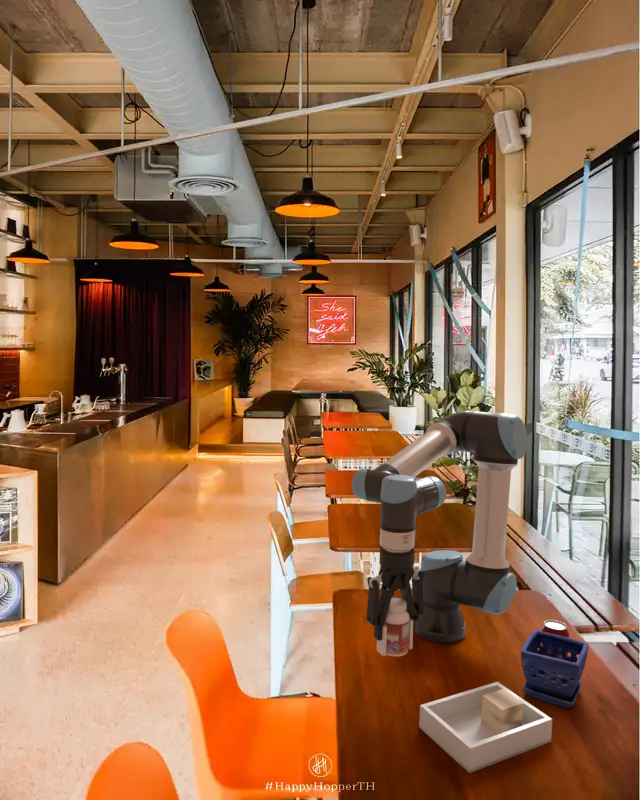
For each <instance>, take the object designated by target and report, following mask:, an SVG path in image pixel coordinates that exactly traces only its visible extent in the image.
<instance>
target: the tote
mask: <svg viewBox="0 0 640 800" xmlns="http://www.w3.org/2000/svg"><path fill="white" fill-rule="evenodd" d="M501 689H504V690H505V691H507V692H508V693H510V694H511V695H512V696H514V697H515V698H517V699H518V700H520V701H521V702H523V721H522V726H520V727H518V728H515V729H512V730H509V731H506V732H504V733H501V734H498V735H497V734H496V733H495V732H493V731H492V730H491V729H490V728H488V727H487V726H486V725H484V724H483V723H482V722H481V713H482V696H483V695H486V694H489V693H492V692H495V691H498V690H501ZM418 726H419V727H418V728H420V730H421V731H422V732H424V733H425V734H426V735H427V736H428V737H429V738H430V739H431V740H432V741H433V742H434V743H436V744H437V745H438V746H439V747H440V748H441V749H442V750H443V751H444V752H445V753H447V754H448V755H449V756H450V757H451V758H452V759H453V760H454V761H455V762H456V763H457V764H459V765H460V766H461V767H462V768H463V769H464V770H465V771H466V772H468V773H469V774H471V773H473V772H476V771H480V770H482V769H485V768H487V767H489V766H492V765H495V764H498V763H500V762H502V761H505V760H508V759H510V758H513V757H515V756H518V755H520V754H524V753H526V752H528V751H531V750H533V749H536V748H538V747H542V746H544V745H547V744H549V743H551V742H552V734H553V733H552V731H553V718H551V717H550V716H548V714H546V713H544V712H543V711H541V710H539V709H538V708H537V707H535V706H534V705H532V704H531V703H529V702H528V701H526V700H525V699H523V698H522V697H521V696H519V695H517V694H516V693H515V692H513V691H512V690H510V689H509V688H507V687H506V686H504V685H503V684H501V683H500V682H499V681H495V682H492V683H489V684H488V683H487V684H485V685H481V686H479V687H476V688H475V687H474V688H473V689H469V690H465V691H462V692H459V693H456V694H452V695H449V696H446V697H443V698H440V699H436V700H433V701H429V702H426V703H423V704H420V705H419V725H418Z"/></svg>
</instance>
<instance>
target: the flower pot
mask: <svg viewBox="0 0 640 800" xmlns="http://www.w3.org/2000/svg"><path fill="white" fill-rule="evenodd" d="M541 643H544V646H542V645H541ZM559 648H562V650H559ZM548 649H551V650H552V653H550V652H548ZM567 652H568V654H570V656H569V655H568V656H567V655H566V653H567ZM588 653H589V644H588V643H587V642H585V641H582V640H578V639H575V638H571V637H569V638H567V637H563V636H559V635H555V634H550V633H546V632H542V631H541V630H537V629H535V630H533V631H532V633H531V634H530V635H529V637H528V638H527V639H526V640H525V643H524V644H523V646H522V648H521V650H520V660H521V661H520V662H521V668H522V672H523V675H524V678H525V680H526V681H525V682H524V684H523V686H522V690H523V692H524V693H525V694H526V695H527V696H528V697H531V698H535V699H537V700H541V701H543V702H547V703H549V704H550V703H551V704H554V705H556V706H559V707H563V708H567V709H569V708H572V707H573V706H574V705H575V703H576V700H577V698H578V695H579V692H580V690H581V687H582V683H583V682H582V681H581V678H582V676H583V672H584V670H585V667H586V662H587V658H588ZM543 654H545V655H546V656H544V655H543ZM559 654H560V655H562V657H563V659H564V660H561V659H557V658H555V656H556V655H559ZM577 656H578V657H577Z"/></svg>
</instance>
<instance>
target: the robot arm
mask: <svg viewBox="0 0 640 800" xmlns="http://www.w3.org/2000/svg"><path fill="white" fill-rule="evenodd" d="M528 441H529V440H528V432H527V428H526V425H525V422H524V420H522V418H521V417H520V416H518V415H515V414H510V413H505V412H492V411H491V412H490V411H488V412H487V411H478V410H477V411H475V410H461V411H457V412H455V413H451V414H449V415H446V416H444V417H441V418H440V419H437V420H436V421H435V422H432V424H430V425H429V426H428V427H427V429H426V431H425V433H424V434H423V435H421V436H419V437H418V438H417V439H416V440H414V441H412V442H411V443H410V444H408V445H407V446H405V447H404V448H402V449H401V450H399V451H398V452H397V453H396V454H394V455H392V457H391V456H390V457H389V458H388V459H387V460H385V461H384V462H383V463H381V464H380V465H378V466H377V467H375V468H374V469H370V468H360V469H358V470H356V472H355V473H354V475H353V477H352V479H351V489H352V493H353V495H354V496H355V497H356V498H358V499H360V500H364V501H367V502H371V503H377V504H380V530H379V531H380V532H379V533H380V534H379V545H380V548H379V566H380V569H379V571H378V575H376V576H374V577H372V576H369V577H367V580H366V581H367V584H368V596H367V597H368V598H367V605H366V617H365V618H366V622H368V623H369V624H371V625H372V626H374V627H373V628H374V629H373V632H374V633H373V635H374V636H373V637H374V639H376V652H378V654H380V655H382V657H386V656H387V655H386V648H387V626H386V625H384V622H385V619H386V616H387V612H388V609H389V605H390V602H391V598H394V595H395V594H396V591H399V592H400V594H401V599H403V600H404V601H406V611H407V612H408V614H409V645H408V650H412V649H413V645H414V644H413V642H414V641H413V640H414V639H413V638H414V637H413V636H414V634H415V635H416V636H418V637H419V638H421V639H423V640H426V641H430V642H433V643H440V644H441V643H442V644H443V643H444V644H446V643H447V644H448V643H449V644H451V643H457V642H459V641H461V640H463V639H465V637H466V635H467V634H466V629H467V626H466V623H465V620H464V616H463V612H462V609H461V605H462V606H466V607H469V608H472V609H476V610H479V611H480V612H481V611H482V612H484V613H485V614H487V613H489V614H493V615H498V616H499V615H501V614H504V613H506V611H507V610H508V609H509V608H510V605H511V604H512V602H513V600H514V597H515V595H516V591H517V582H518V581H517V577H516V575H515V574H514V573H513V572H510V568H511V566H510V562H509V561H508V560H507V559H506V557H505V553H506V540H507V529H508V516H509V515H508V514H509V504H510V503H509V501H510V487H511V475H512V474H511V473H512V470H513V469H514V468H515V467H517V466H518V464H519V463H518V461H519V460H521V459H523V458H524V457H525V456H526V453H527V449H528V443H529V442H528ZM454 452H468V453H473V462H474V463H475V464H476V465H477V467H478V471H477V483H476V485H477V487H476V498H475V509H474V510H475V511H474V522H473V524H474V525H473V536H472V548H471V553H470V554H469V555H467V556H466V558H465V560H464V557H463V554H462V553H461V552H460V551H456V550H448V549H447V550H442V549H441V550H440V549H439V550H434V551H429V552H427V553H425V554H424V555H423V556H422V557H421V561H420V569H419V568H417V567H416V568H414V566H415V551H416V550H415V549H414V547H415V546H416V542H415V541H416V521H417V520H416V516H419V515H422V514H425V513H427V512H431V511H434V510H435V509H437V508H439V507H441V506H442V505H443V504H444V503H445V501H446V498H447V490H446V486H445V484H444V482H443V481H442V480H440V479H439V478H438V477H436V476H433V475H431V476H430V475H429V476H427V475H425V476H422V477H417V476H418V475H419V474H420V473H422V472H423V471H425V470H426V469H427V468H428V467H430V466H431V465H432V464H434V463H435V462H436V461H437V460H439V459H440V458H441V457H443V456H445V457H446V456H449V455H451V454H453V453H454ZM381 583H382V584H381Z"/></svg>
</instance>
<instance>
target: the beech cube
mask: <svg viewBox="0 0 640 800" xmlns="http://www.w3.org/2000/svg"><path fill="white" fill-rule="evenodd" d="M522 721H523V702H521V701H520V700H518V699H517V698H515V697H514V696H512V695H511V694H510V693H508V692H507V691H505V690H504V689H501V690H498V691H495V692H492V693H489V694H486V695H483V696H482V713H481V722H482V723H483V724H484V725H486V726H487V727H488V728H490V729H491V730H492V731H493V732H495V733H496V734H497V735H498V734H501V733H504V732H506V731H509V730H512V729H515V728H518V727H520V726H522Z"/></svg>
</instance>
